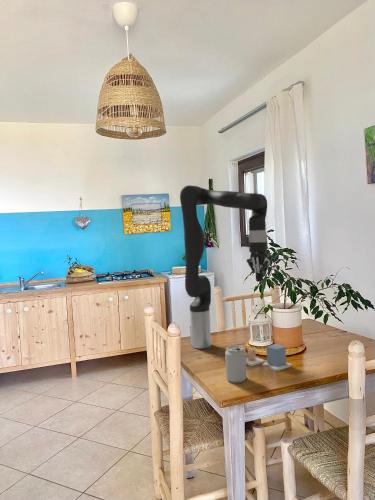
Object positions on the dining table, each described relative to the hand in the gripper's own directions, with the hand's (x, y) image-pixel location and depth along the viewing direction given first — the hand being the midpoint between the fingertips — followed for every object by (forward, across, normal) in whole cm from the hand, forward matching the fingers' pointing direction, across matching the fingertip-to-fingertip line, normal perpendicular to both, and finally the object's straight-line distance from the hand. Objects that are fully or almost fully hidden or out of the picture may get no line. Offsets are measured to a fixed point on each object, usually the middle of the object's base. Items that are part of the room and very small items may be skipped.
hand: (259, 281), depth 167 cm
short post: (+32, +3, -9) cm, 33 cm away
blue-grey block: (+31, +13, -5) cm, 34 cm away
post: (+32, +13, -5) cm, 35 cm away
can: (+32, +12, -26) cm, 43 cm away
